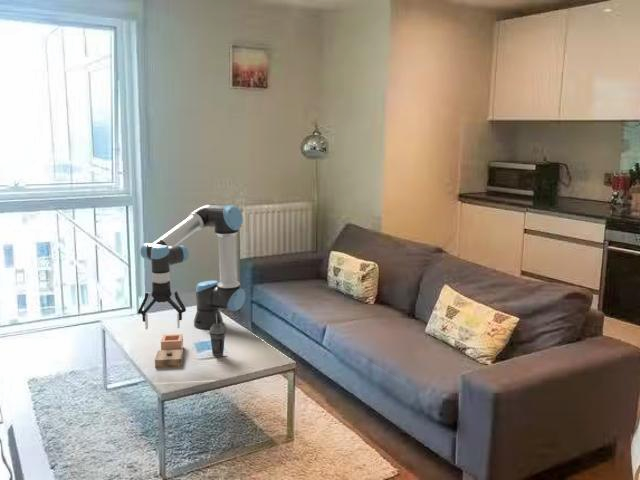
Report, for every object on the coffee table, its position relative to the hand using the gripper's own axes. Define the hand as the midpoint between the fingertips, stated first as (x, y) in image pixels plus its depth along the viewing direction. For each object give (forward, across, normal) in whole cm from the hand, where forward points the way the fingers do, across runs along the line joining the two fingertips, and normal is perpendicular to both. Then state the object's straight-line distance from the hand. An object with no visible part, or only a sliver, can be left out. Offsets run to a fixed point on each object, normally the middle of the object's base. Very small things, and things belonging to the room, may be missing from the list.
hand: (162, 327), depth 259 cm
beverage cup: (+16, -24, -3) cm, 29 cm away
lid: (+15, -3, +2) cm, 16 cm away
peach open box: (+16, -3, -11) cm, 19 cm away
